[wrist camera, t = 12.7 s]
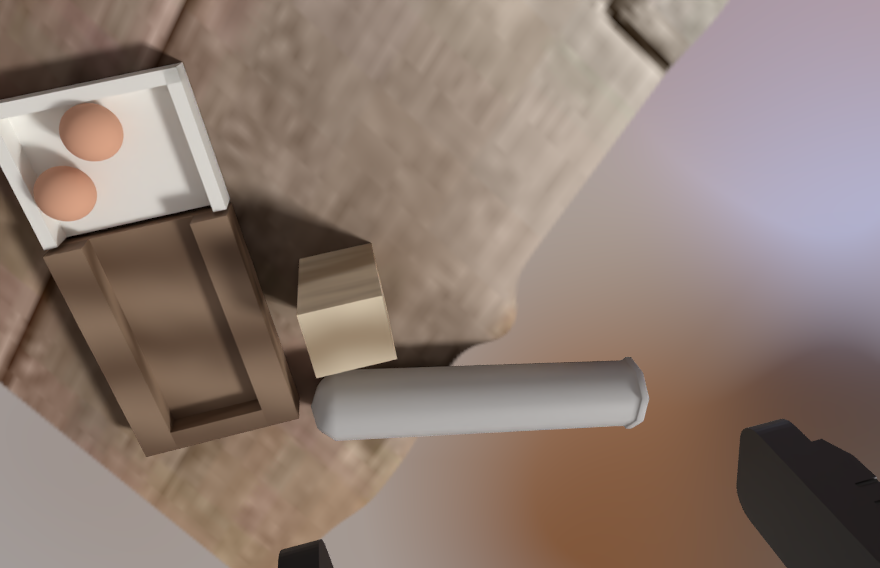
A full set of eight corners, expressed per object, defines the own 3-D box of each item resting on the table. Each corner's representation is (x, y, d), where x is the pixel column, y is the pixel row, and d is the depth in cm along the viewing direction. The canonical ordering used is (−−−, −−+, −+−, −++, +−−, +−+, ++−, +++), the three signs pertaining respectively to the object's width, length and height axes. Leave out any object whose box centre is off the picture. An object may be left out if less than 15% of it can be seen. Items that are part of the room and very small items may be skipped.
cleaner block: (299, 258, 44) (296, 315, 37) (371, 242, 44) (382, 295, 37) (316, 314, 46) (316, 378, 39) (384, 298, 46) (397, 359, 39)
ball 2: (70, 149, 38) (47, 189, 39) (35, 160, 35) (10, 203, 36) (117, 184, 38) (92, 223, 40) (86, 197, 36) (60, 239, 37)
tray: (-13, 102, 36) (-29, 109, 34) (182, 62, 37) (175, 67, 35) (55, 237, 40) (43, 250, 38) (230, 198, 41) (226, 209, 39)
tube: (311, 458, 46) (632, 440, 51) (310, 416, 43) (656, 400, 47) (312, 397, 50) (610, 385, 55) (310, 354, 46) (631, 345, 51)
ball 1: (51, 97, 36) (40, 140, 34) (105, 85, 35) (96, 127, 34) (87, 136, 38) (79, 178, 37) (138, 125, 38) (131, 166, 36)
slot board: (57, 241, 40) (42, 257, 38) (231, 202, 41) (226, 215, 39) (154, 434, 48) (146, 456, 46) (299, 397, 49) (299, 418, 46)
